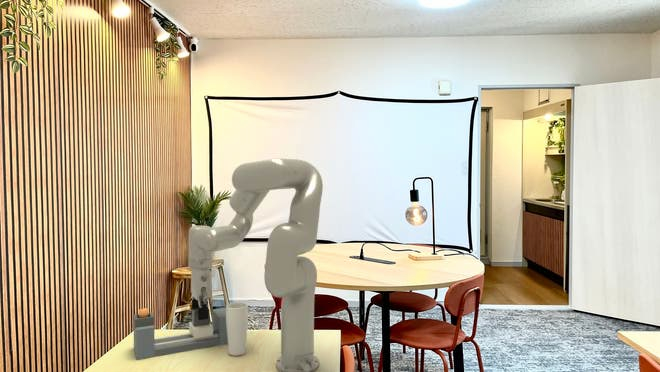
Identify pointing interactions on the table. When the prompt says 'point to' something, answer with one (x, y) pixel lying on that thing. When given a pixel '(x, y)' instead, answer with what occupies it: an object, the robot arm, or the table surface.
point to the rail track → (175, 337)
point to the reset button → (143, 313)
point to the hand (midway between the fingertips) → (199, 314)
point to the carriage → (200, 326)
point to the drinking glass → (236, 327)
